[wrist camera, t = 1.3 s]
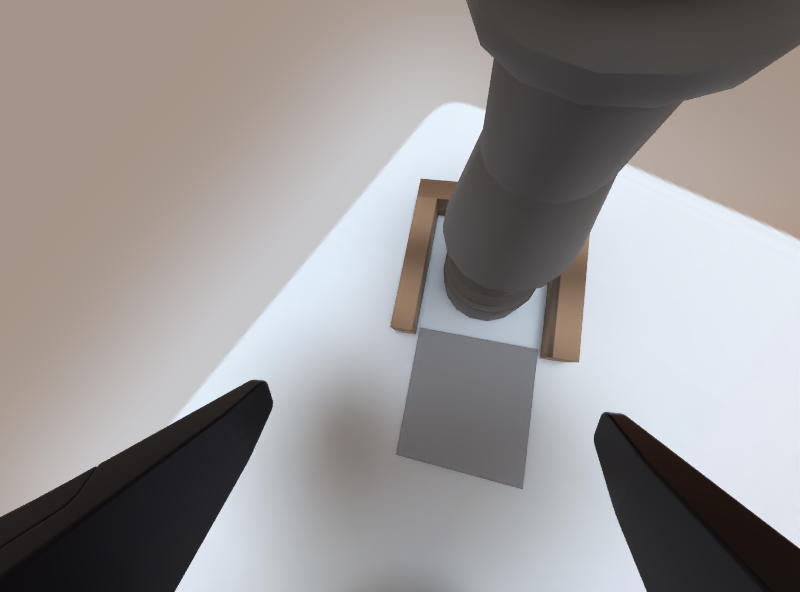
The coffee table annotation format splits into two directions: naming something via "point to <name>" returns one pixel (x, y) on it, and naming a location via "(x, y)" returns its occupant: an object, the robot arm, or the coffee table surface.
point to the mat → (469, 406)
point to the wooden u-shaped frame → (562, 291)
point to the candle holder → (581, 122)
